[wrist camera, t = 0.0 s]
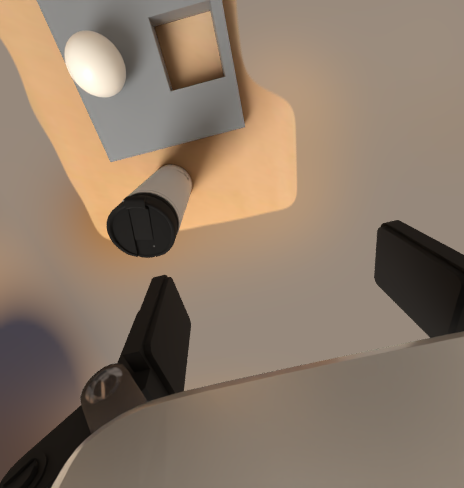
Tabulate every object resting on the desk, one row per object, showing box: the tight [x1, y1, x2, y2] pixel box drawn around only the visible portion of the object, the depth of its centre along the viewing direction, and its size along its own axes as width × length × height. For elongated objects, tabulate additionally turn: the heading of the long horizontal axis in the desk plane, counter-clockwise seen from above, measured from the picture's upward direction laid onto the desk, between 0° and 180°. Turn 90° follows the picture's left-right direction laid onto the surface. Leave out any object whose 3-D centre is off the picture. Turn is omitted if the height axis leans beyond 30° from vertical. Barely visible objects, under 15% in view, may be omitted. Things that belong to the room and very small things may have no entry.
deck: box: [37, 0, 245, 162], centre depth 30 cm, size 20×20×3 cm
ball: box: [64, 31, 126, 98], centre depth 27 cm, size 6×6×6 cm
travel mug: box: [107, 164, 192, 258], centre depth 30 cm, size 6×7×20 cm
